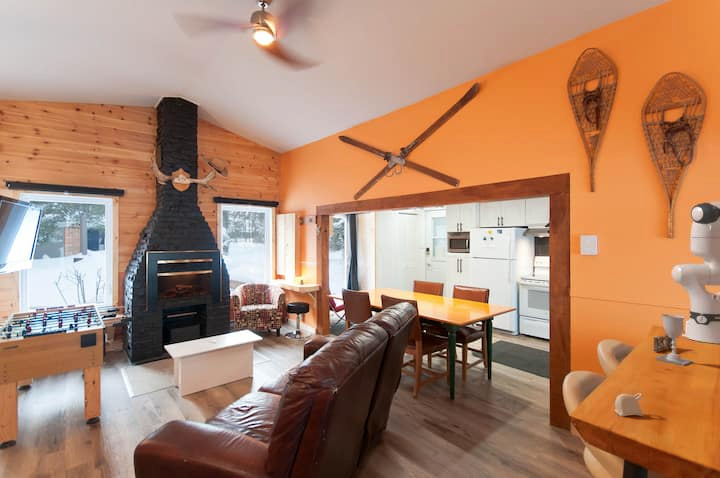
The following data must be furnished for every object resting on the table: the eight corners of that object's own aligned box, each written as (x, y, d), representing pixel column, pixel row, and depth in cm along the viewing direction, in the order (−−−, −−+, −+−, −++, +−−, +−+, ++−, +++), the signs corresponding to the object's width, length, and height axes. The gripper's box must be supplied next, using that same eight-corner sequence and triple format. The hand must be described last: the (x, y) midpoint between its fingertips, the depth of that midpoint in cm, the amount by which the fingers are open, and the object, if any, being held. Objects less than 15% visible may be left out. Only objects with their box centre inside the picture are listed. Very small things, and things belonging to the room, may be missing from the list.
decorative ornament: (609, 410, 99) (609, 391, 99) (638, 409, 99) (637, 391, 99) (620, 417, 95) (620, 397, 95) (650, 416, 95) (649, 397, 95)
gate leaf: (666, 346, 161) (665, 333, 161) (672, 347, 159) (671, 335, 159) (652, 350, 154) (652, 337, 154) (658, 352, 152) (658, 338, 152)
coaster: (664, 356, 148) (664, 354, 148) (692, 362, 140) (692, 360, 140) (655, 359, 143) (655, 358, 143) (684, 365, 136) (684, 364, 136)
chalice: (658, 357, 144) (657, 315, 144) (668, 355, 146) (667, 313, 147) (680, 363, 137) (679, 318, 138) (689, 361, 140) (688, 317, 140)
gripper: (743, 289, 148) (701, 287, 154) (777, 295, 129) (728, 293, 135) (744, 303, 148) (702, 301, 153) (778, 311, 129) (728, 309, 135)
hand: (714, 297), depth 144 cm, fingers closed
